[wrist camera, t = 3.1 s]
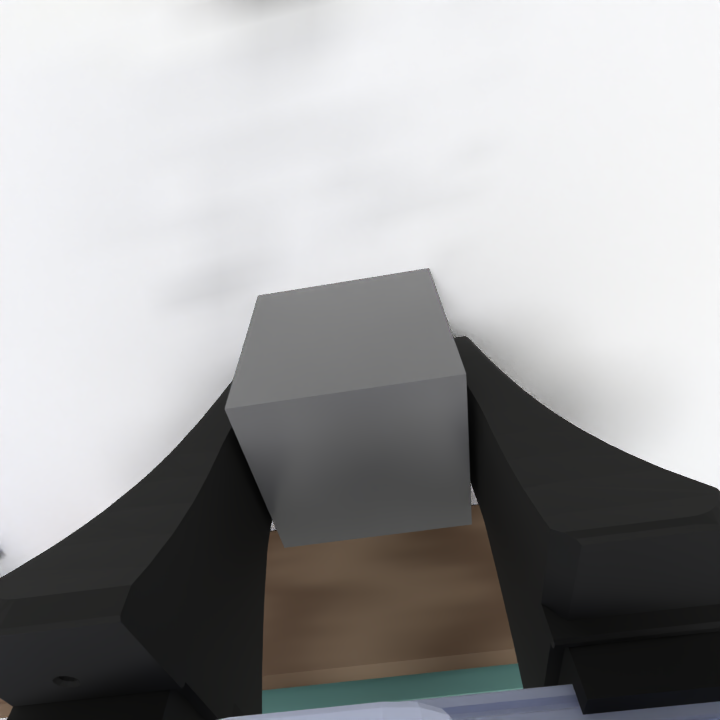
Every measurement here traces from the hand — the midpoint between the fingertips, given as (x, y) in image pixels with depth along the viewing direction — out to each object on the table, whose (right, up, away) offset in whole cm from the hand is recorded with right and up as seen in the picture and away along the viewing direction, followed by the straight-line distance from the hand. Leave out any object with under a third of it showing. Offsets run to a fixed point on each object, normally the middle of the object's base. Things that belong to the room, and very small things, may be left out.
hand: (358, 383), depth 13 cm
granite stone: (0, +1, +1) cm, 2 cm away
